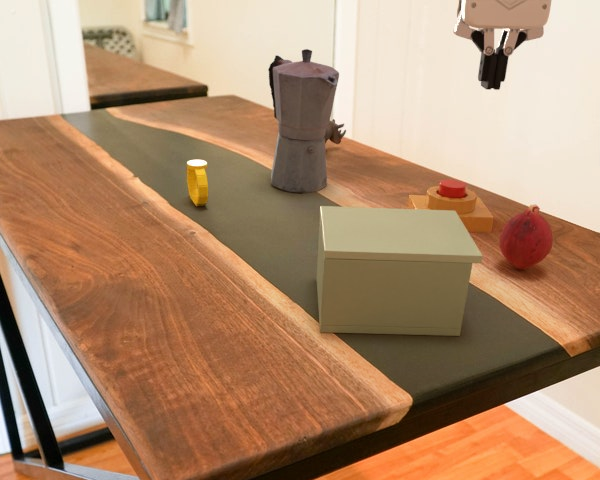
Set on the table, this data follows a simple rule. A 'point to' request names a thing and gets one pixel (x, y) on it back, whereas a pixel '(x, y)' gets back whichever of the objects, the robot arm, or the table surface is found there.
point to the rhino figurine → (334, 132)
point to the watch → (197, 181)
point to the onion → (526, 238)
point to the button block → (456, 208)
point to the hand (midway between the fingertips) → (489, 87)
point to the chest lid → (396, 235)
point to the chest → (390, 295)
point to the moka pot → (301, 121)
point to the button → (452, 189)
